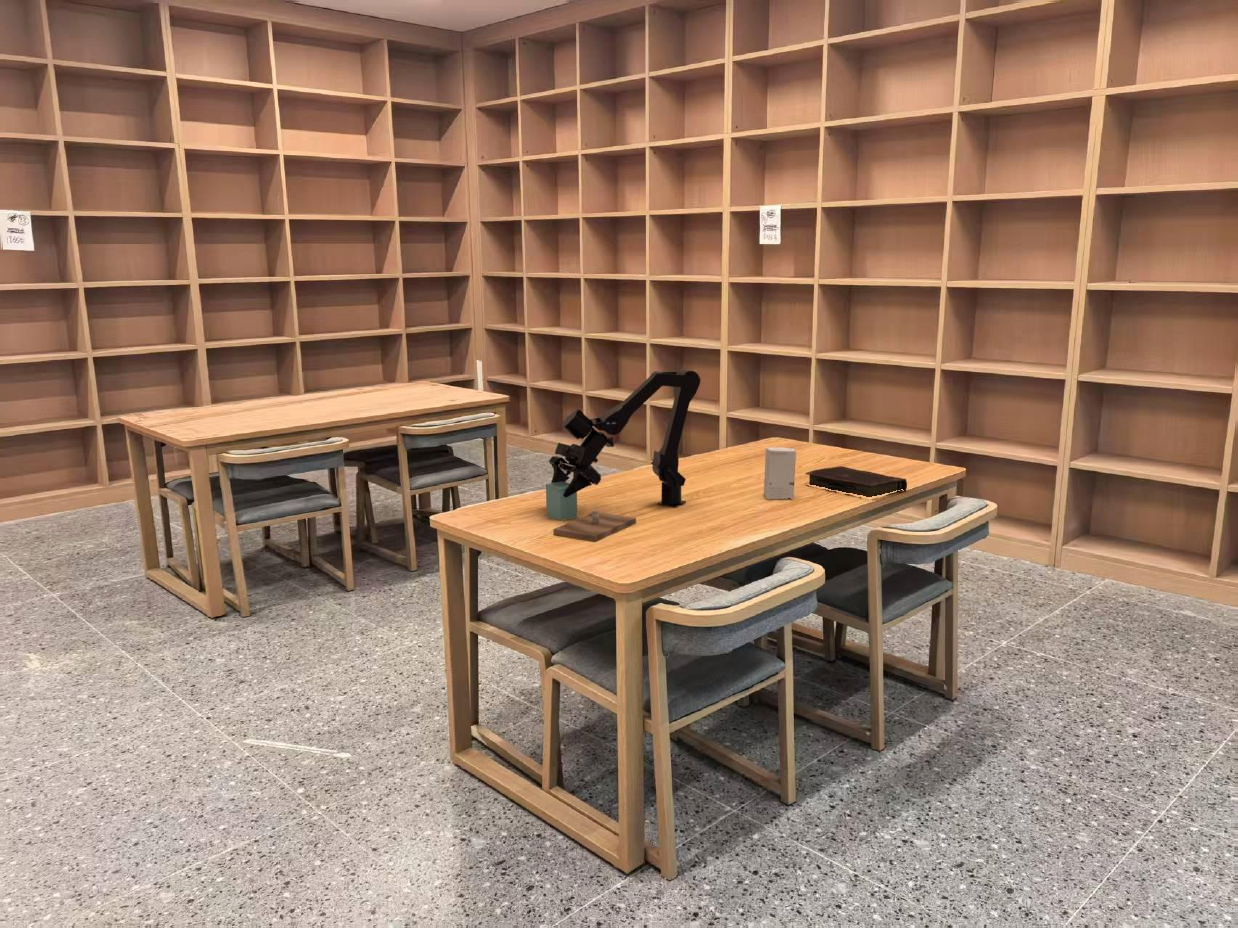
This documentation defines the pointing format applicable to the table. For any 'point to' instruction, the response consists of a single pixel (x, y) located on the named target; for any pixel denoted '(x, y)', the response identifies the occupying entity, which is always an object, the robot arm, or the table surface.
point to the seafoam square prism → (560, 501)
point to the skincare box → (779, 473)
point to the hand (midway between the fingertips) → (557, 494)
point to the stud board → (594, 526)
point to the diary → (855, 481)
